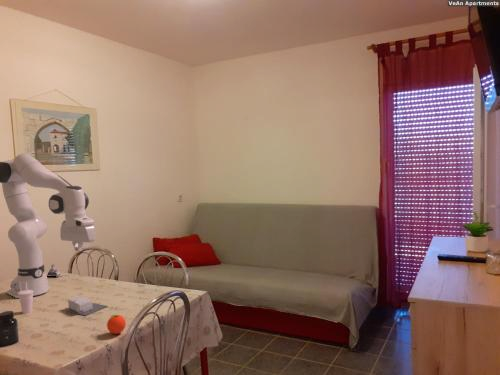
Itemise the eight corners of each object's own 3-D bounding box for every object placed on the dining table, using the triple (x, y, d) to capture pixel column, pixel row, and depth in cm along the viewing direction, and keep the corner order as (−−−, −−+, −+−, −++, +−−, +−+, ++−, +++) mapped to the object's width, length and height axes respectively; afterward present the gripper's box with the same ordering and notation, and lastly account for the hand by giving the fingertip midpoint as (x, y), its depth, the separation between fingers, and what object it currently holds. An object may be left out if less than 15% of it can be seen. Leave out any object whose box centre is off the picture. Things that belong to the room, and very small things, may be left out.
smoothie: (38, 310, 181) (36, 280, 180) (26, 315, 175) (24, 285, 174) (28, 309, 183) (25, 280, 182) (15, 314, 177) (13, 284, 176)
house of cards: (68, 273, 247) (67, 261, 247) (59, 277, 239) (58, 264, 238) (55, 273, 249) (54, 261, 248) (46, 277, 240) (45, 265, 240)
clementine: (103, 332, 153) (102, 314, 152) (120, 327, 158) (118, 309, 157) (112, 338, 147) (111, 320, 147) (129, 332, 152) (128, 314, 152)
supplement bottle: (-6, 350, 142) (-8, 317, 141) (1, 342, 148) (-2, 311, 148) (16, 346, 144) (13, 315, 143) (21, 339, 150) (18, 308, 150)
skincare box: (80, 295, 186) (92, 299, 178) (80, 304, 186) (93, 309, 178) (67, 299, 181) (79, 303, 173) (68, 308, 181) (80, 313, 173)
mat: (66, 311, 178) (66, 310, 178) (89, 303, 188) (88, 302, 188) (85, 316, 171) (85, 315, 171) (107, 306, 182) (107, 305, 182)
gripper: (55, 221, 181) (57, 250, 182) (84, 222, 171) (87, 253, 172) (67, 219, 187) (69, 247, 188) (96, 220, 177) (98, 250, 178)
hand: (78, 250), depth 180 cm, fingers closed
